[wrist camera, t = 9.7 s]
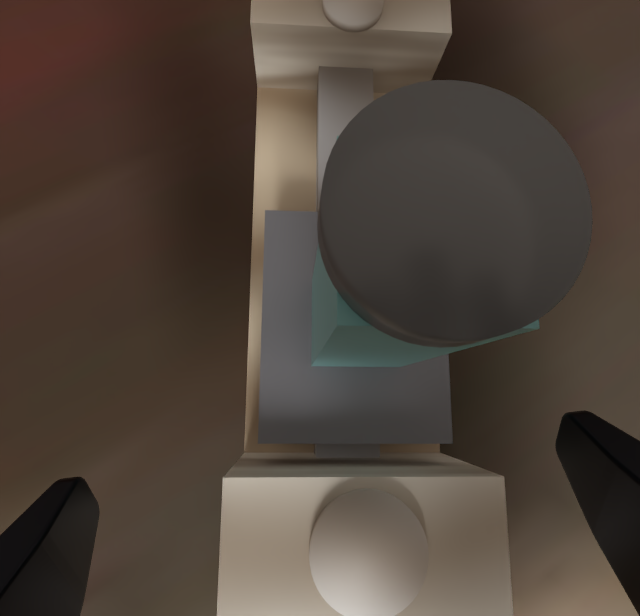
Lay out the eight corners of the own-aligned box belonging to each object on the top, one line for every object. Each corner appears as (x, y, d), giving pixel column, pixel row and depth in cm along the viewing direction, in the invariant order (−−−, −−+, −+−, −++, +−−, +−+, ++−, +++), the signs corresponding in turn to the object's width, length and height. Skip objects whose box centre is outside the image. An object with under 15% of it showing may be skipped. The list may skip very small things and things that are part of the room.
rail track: (435, 543, 19) (521, 631, 12) (243, 545, 19) (213, 638, 12) (416, 71, 24) (472, -73, 16) (260, 64, 23) (246, -88, 16)
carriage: (434, 438, 17) (742, 528, 5) (261, 438, 17) (192, 533, 5) (426, 234, 19) (652, -39, 7) (267, 230, 18) (225, -67, 7)
